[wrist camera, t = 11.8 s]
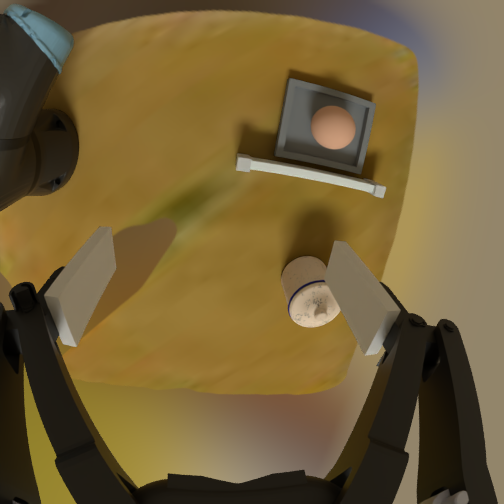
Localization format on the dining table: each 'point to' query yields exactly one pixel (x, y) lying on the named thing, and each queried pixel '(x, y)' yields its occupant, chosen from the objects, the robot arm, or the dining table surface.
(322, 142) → the ball
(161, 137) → the dining table surface
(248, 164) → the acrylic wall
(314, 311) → the teacup with lid
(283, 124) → the tray
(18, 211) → the dining table surface
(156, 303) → the dining table surface
